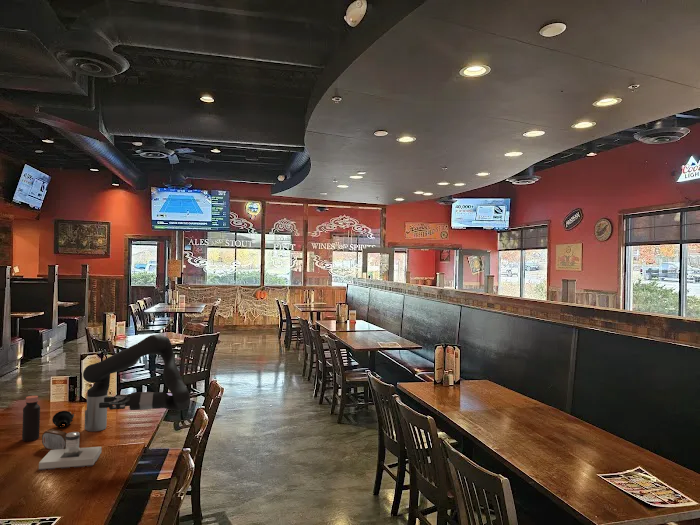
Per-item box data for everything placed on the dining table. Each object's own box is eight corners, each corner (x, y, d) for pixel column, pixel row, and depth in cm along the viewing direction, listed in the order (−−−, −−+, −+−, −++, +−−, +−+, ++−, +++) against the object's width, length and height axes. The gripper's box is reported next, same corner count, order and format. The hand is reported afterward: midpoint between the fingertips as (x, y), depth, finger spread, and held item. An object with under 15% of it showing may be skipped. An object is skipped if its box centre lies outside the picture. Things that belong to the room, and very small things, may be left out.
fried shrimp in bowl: (48, 422, 238) (49, 402, 252) (58, 438, 243) (58, 417, 257) (68, 414, 241) (68, 394, 256) (78, 430, 246) (77, 410, 261)
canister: (63, 459, 203) (64, 433, 204) (77, 456, 207) (78, 430, 208) (66, 463, 200) (67, 436, 200) (80, 460, 203) (81, 433, 204)
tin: (71, 451, 215) (71, 432, 215) (65, 453, 212) (65, 434, 212) (46, 446, 220) (47, 427, 220) (40, 448, 217) (40, 430, 217)
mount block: (38, 470, 194) (38, 462, 194) (50, 456, 207) (50, 449, 208) (93, 466, 199) (93, 458, 199) (101, 453, 213) (101, 446, 213)
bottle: (42, 438, 229) (43, 396, 230) (27, 442, 223) (29, 399, 224) (33, 435, 232) (34, 394, 233) (18, 440, 226) (20, 397, 226)
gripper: (145, 388, 218) (105, 389, 213) (139, 396, 204) (97, 398, 200) (144, 404, 218) (105, 406, 213) (139, 414, 204) (97, 416, 200)
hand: (101, 402), depth 207 cm, fingers open, 8 cm apart
